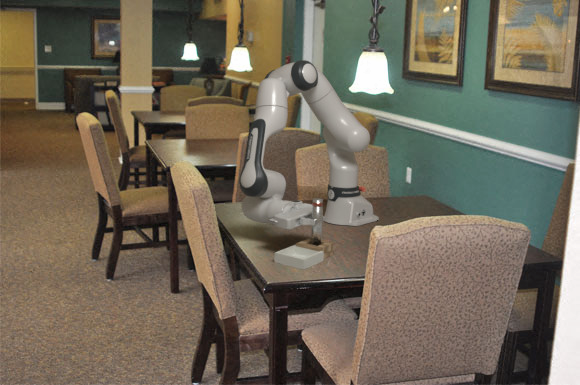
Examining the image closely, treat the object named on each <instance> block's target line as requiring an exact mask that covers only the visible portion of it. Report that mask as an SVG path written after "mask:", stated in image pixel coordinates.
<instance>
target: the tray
mask: <svg viewBox="0 0 580 385" xmlns="http://www.w3.org/2000/svg"><path fill="white" fill-rule="evenodd" d="M323 257H324V252H323V251H320V252H319V251H314V250H310V249H306V248H302V247H297V246H296V244H293V245H291V246H287V247H286V248H283V249H280V250H278V251H276V252H274V260H273V261H274V263H276V264H280V265H283V266H288V267H292V268H296V269H299V270H303V271H304V270H306V269H308V268H311V267H313V266H315V265H317V264H320V263H323V262H324V259H323Z"/></svg>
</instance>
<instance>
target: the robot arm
mask: <svg viewBox="0 0 580 385" xmlns="http://www.w3.org/2000/svg"><path fill="white" fill-rule="evenodd" d="M319 69H320V68H319ZM319 69H318V67H316V66H315V65H314V64H313V63H312V62H311V61H309V60H306V59H305V60H302V59H300V60H297V61H294V62H289V63H286V64H284V65H282V66H280V67H277V68H276V69H272V70H271V71H269V72H268V73H266V75H265V77H264V79H262V80H261V81H260V82H259V85H258V89H257V93H256V99H255V113H254V119H253V121H252V123H251V125H250V127H249V131H248V133H247V134H248V135H247V140H246V147H245V148H246V149H245V155H244V161H243V166H242V169H241V171H240V174H239V180H238V184H239V188H240V190H241V192H242V193H243V194H244V195H245V197H244V198H243V199H242V201H241V212H242V214H243V216H245V217H246V218H247V219H249V220H252V221H254V222H255V223H256V222H257V223H261V224H270V225H271V226H273V227H276V228H280V229H283V230H288V231H289V230H293V229H296V228H299V227H301V226H312V225H316V224H317V220H316V219H312V207H313V206H312V204H311V203H306V202H304V203H303V201H302V200H285V199H284V196H285V193H286V189H287V181H286V178H285V176H284V175H283V173H281V172H278V171H275V170H271V169H268V168H265V167H264V156H265V150H266V149H265V148H266V143H267V141H268V139H269V138H271V137H273V136H276V135H279V134H280V133H281V132H283V131H284V130H285V128H287V127H286V126H287V122H288V114H289V112H288V108H289V107H288V104H289V103H288V97H294V96H296V95H298V94H301V96H302V97H303V99H304V101H305V102H306V104H307V105H308V107H309V108H310V110H311V111H312V113H313V114H314V116H315V117H316V120H318V121H319V122H320V123H321V124H322V125H323V129H322V136H323V139H324V141H325V143H326V144H325V145H326V149H327V154H328V156H327V157H328V160H329V162H328V163H329V174H328V175H329V178H328V184H327V192H326V194H327V202H326V208H325V212H324V209H322V223H324V222H325V223H328V224H332V225H337V226H351V227H352V226H353V227H359V226H362V225H366V224H369V223H373V222H374V223H375V222H377V220H378V221H379V220H380V217H379V216H378V215H376V214H374V208H373V205H372V203H371V202H370V201H369V200H367V199H366V198H365V197H364V196H363V195H362V194H361V192H362V193H365V192H366V190H367V188H366V187H365V186H363V185H360V186H359V185H358V183H359V182H358V181H359V164H358V162H357V159H356V155H355V153H358V152H363V151H364V150H366V149H367V148H368V146H369V145H370V142H371V135H370V132H369V130H368V129H367V128H366V127H365V126H363V124H362V123H360V121H359V120H358V119H357V117H355V115H354V114H353V113H352V112H351V111H350V110H349V109H348V107H346V105H345V104H344V102H342V100H341V98H340V97H339V95H338V94H337V92H336V90H335V89H334V87H333V86H332V84H331V82H330V81H329V80H328V79H327V77H326V75H325V74H323V72H321V70H319ZM323 212H324V213H323ZM323 214H324V215H323Z"/></svg>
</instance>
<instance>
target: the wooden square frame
mask: <svg viewBox="0 0 580 385" xmlns="http://www.w3.org/2000/svg"><path fill="white" fill-rule="evenodd" d="M311 238H312V237H309V238H307V239H304V240H301V241H299V242H296V243H295V245H296V246H297V247H302V248H306V249H310V250H314V251H319V252H320V251H323V252H324V257H323V260H325V259H327V258H330V257H331V256H334V254H335V242H333V241H328V240H324V239H321V245H319V246H315V245H311Z"/></svg>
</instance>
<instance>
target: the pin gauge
mask: <svg viewBox="0 0 580 385" xmlns="http://www.w3.org/2000/svg"><path fill="white" fill-rule="evenodd" d="M312 206H313V207H312V219H316V220H317V224H316V225H311V237H310V238H311V245H315V246H319V245H321V240H322V234H323V233H322V232H323V222H322V209H323V207H324V198H320V197H319V198H317V197H316V198H315V197H314V198H313V199H312ZM323 210H324V209H323Z"/></svg>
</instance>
